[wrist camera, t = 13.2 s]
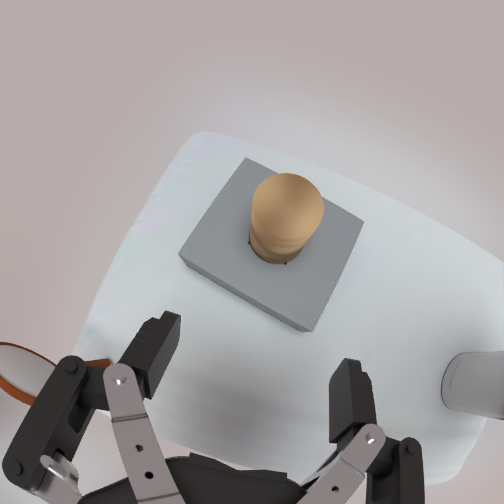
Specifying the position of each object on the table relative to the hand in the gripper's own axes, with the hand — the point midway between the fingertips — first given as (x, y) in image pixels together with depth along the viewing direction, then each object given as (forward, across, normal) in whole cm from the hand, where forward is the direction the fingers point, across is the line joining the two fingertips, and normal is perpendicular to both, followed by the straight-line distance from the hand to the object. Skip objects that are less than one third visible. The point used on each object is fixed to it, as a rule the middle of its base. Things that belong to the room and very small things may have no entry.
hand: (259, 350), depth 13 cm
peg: (+22, 0, +6) cm, 23 cm away
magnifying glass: (+8, +16, +20) cm, 27 cm away
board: (+22, 0, +6) cm, 23 cm away
